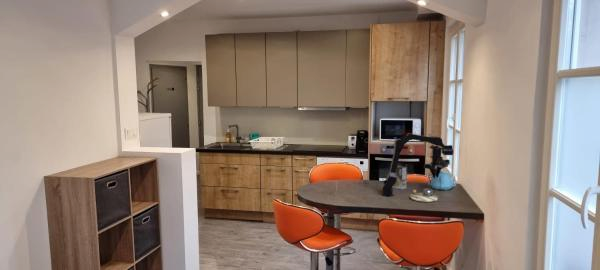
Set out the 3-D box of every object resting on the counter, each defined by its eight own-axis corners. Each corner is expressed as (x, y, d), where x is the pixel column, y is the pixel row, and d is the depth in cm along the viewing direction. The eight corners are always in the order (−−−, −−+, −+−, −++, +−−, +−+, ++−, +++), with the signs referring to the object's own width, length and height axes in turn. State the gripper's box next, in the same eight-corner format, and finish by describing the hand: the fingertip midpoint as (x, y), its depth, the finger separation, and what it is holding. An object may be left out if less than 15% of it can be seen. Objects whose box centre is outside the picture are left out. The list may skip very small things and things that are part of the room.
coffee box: (407, 188, 297) (407, 166, 295) (401, 189, 293) (402, 168, 291) (396, 186, 304) (397, 165, 302) (391, 187, 299) (392, 166, 298)
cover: (428, 197, 264) (429, 191, 264) (421, 195, 269) (421, 189, 269) (434, 195, 268) (434, 189, 267) (427, 193, 273) (427, 188, 272)
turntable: (426, 203, 254) (426, 196, 253) (404, 197, 268) (404, 191, 268) (443, 199, 264) (443, 192, 264) (421, 193, 279) (421, 187, 278)
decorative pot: (439, 192, 285) (440, 173, 283) (425, 187, 300) (425, 169, 298) (457, 190, 291) (458, 172, 289) (442, 185, 306) (443, 168, 304)
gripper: (438, 157, 259) (437, 181, 260) (455, 155, 269) (454, 178, 271) (424, 155, 268) (423, 178, 269) (440, 153, 278) (440, 175, 280)
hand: (435, 177), depth 272 cm, fingers open, 3 cm apart
